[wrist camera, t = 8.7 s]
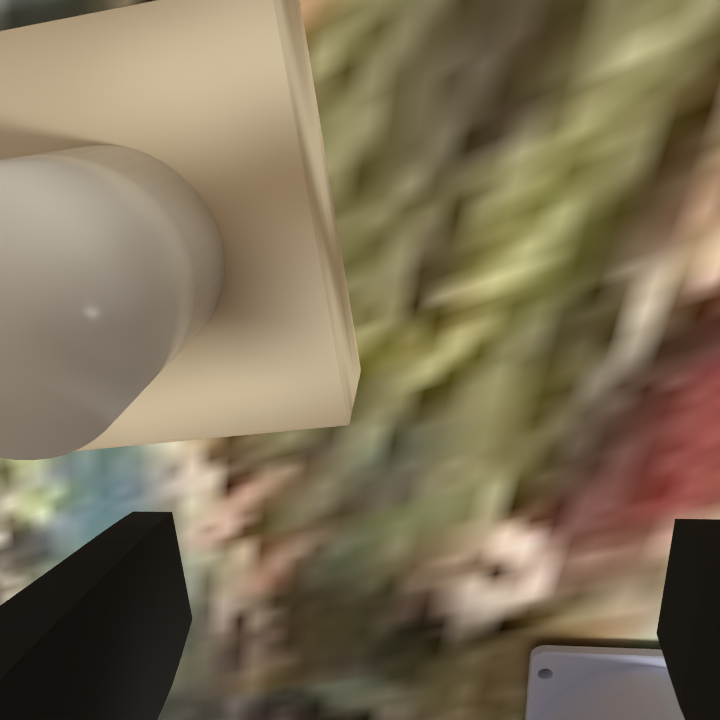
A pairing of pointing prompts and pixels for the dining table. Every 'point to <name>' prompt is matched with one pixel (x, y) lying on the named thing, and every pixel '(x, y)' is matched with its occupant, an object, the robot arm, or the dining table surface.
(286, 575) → the dining table surface
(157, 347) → the beige round cylinder
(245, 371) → the block
